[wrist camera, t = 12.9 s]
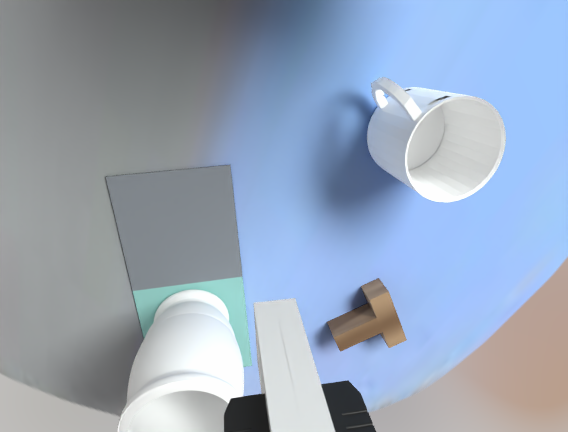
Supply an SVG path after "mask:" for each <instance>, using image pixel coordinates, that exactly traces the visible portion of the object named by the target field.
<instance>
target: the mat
mask: <svg viewBox="0 0 568 432" xmlns="http://www.w3.org/2000/svg"><path fill="white" fill-rule="evenodd" d="M106 181H107V185H108V189H109V193H110V198H111V202H112V206H113V210H114V214H115V219H116V223H117V227H118V231H119V236H120V240H121V244H122V248H123V252H124V257H125V261H126V265H127V269H128V274H129V278H130V282H131V286H132V291H133V295H134V299H135V303H136V307H137V312H138V316H139V320H140V324H141V329H142V333H143V337H144V338H145V336H146V334H147V332H148V330H149V329H150V327H151V325H152V324H153V323H154V316H155V313H156V311H157V309H158V307H159V306H160V305H161V303H162V302H163V301H164V300H165V299H167V298H168V297H170V296H171V295H173V294H175V293H178V292H180V291H184V290H203V291H207V292H210V293H212V294H214V295H216V296H217V297H218V298H220V299H221V300H222V301H223V303H224V304H225V306H226V308H227V310H228V314H229V323H230V325H231V327H232V329H233V331H234V334H235V338H236V341H237V344H238V346H239V349H240V353H241V357H242V362H243V367H246V366H252V361H251V351H250V342H249V333H248V324H247V315H246V305H245V296H244V287H243V278H242V268H241V259H240V250H239V241H238V232H237V222H236V213H235V204H234V195H233V185H232V176H231V167H230V165H221V166H211V167H200V168H190V169H179V170H169V171H158V172H147V173H137V174H126V175H116V176H106Z"/></svg>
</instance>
